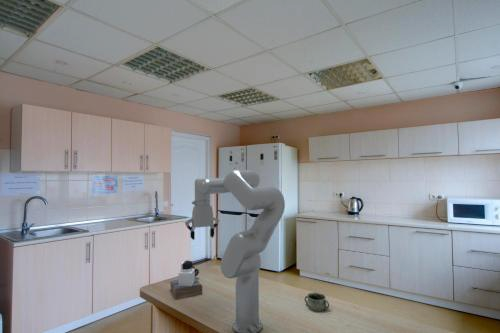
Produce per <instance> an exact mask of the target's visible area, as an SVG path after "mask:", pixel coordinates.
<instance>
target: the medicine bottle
mask: <svg viewBox="0 0 500 333" xmlns="http://www.w3.org/2000/svg"><path fill="white" fill-rule="evenodd" d="M192 266H193V261H191V260H183V261H182V262H181V263H180V270H179V272H178V275H177V276H178V277H177V278H178V279H177V280H178V286H192V285H193V283H194V282H195V278H196V277H195V269H196V268H195V269H192Z"/></svg>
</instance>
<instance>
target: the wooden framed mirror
mask: <svg viewBox="0 0 500 333" xmlns="http://www.w3.org/2000/svg"><path fill="white" fill-rule="evenodd" d="M170 292H171V294H172V295H173V297H174V299H175V300H181V299H185V298H191V297H196V296H201V295H203V285H202V283H201V282H200V281H199V280H198V278H196V277H195V282H194V283H193V285H192V286H178V279H176V280H171V281H170Z"/></svg>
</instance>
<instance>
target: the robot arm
mask: <svg viewBox="0 0 500 333" xmlns="http://www.w3.org/2000/svg"><path fill="white" fill-rule="evenodd" d="M260 182H261V178H260V175H259V173H257V172H256V171H254V170H251V169H233V170H230V171H229V173H227V174H226V175H225V176H224V177H207V178H196V179H195V180H194V201H191V204H192V205H193V207H192V208H193V209H192V214H191V218H190V219H188V220H187V221H184V225H185V227H186V228H187V229H188V230H189V231H190V239H192V240H195V234H196V233H195V229H196V228H205V227H207V228H208V227H210V228H209V230H210V231H209V233H210V237H211V238H214V236H215V229H216V228H217V227H218V224H219V223H220V219H218V218H216V217H214V212H213V211H214V210H213V206H212V205H211V195H213V194H215V195H216V194H225V193H226V194H228V193H231V194H232V195H233V197H234V198H235V199H236V200H237V201H238V203H239V204H240V205H241V206H242V207H243V208H245V209H246V210H248V211H257V210H261V212H260V213H259V214H258V215H257V216H256V218H255V220H254V221H253V224H252V226H251V227H250V228H249V229H247V230H244V231H238V232H236V233H235V234H233V236H232V237H231V238H230V239H229V241H228V243H227V245H226V249H225V251H224V252H223V255H222V257H221V259H220V260H221V261H220V270H221V273H222V275H223V276H224V277H225V278H226V279H236V280H235V319H234V320H233V321H232V323H231V327H232V328H231V329H232V330H233V331H234V332H235V333H259V332H261V331H262V329H263V326H264V324H263V323H264V322H263V320H261V319H260V313H259V312H260V309H259V308H260V303H259V302H260V301H259V300H260V299H259V297H260V295H259V292H260V291H259V288H260V287H259V286H260V284H259V283H260V282H259V281H260V280H259V279H260V271H261V270H260V269H261V265H262V259H261V255H260V253H262V252H263V251H265V249H266V247H267V246H268V244H269V242H270V240H271V238H272V236H273V234H274V232H275V230H276V228H277V226H278V225H279V222H280V221H281V220H282V217H283V215H284V213H285V207H286V206H285V204H286V203H285V202H286V201H285V197H284V195H283V193H282V191H281V190H280V189H279V188H276V187H273V186H259V184H260ZM258 186H259V187H258ZM214 221H215V222H214ZM190 224H191V226H190Z"/></svg>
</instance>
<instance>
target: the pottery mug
mask: <svg viewBox="0 0 500 333" xmlns="http://www.w3.org/2000/svg"><path fill="white" fill-rule="evenodd" d="M192 269H195V278H196V277H197V276H199V273H200V270H199V269H198V268H195V266H194V265H192Z"/></svg>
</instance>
